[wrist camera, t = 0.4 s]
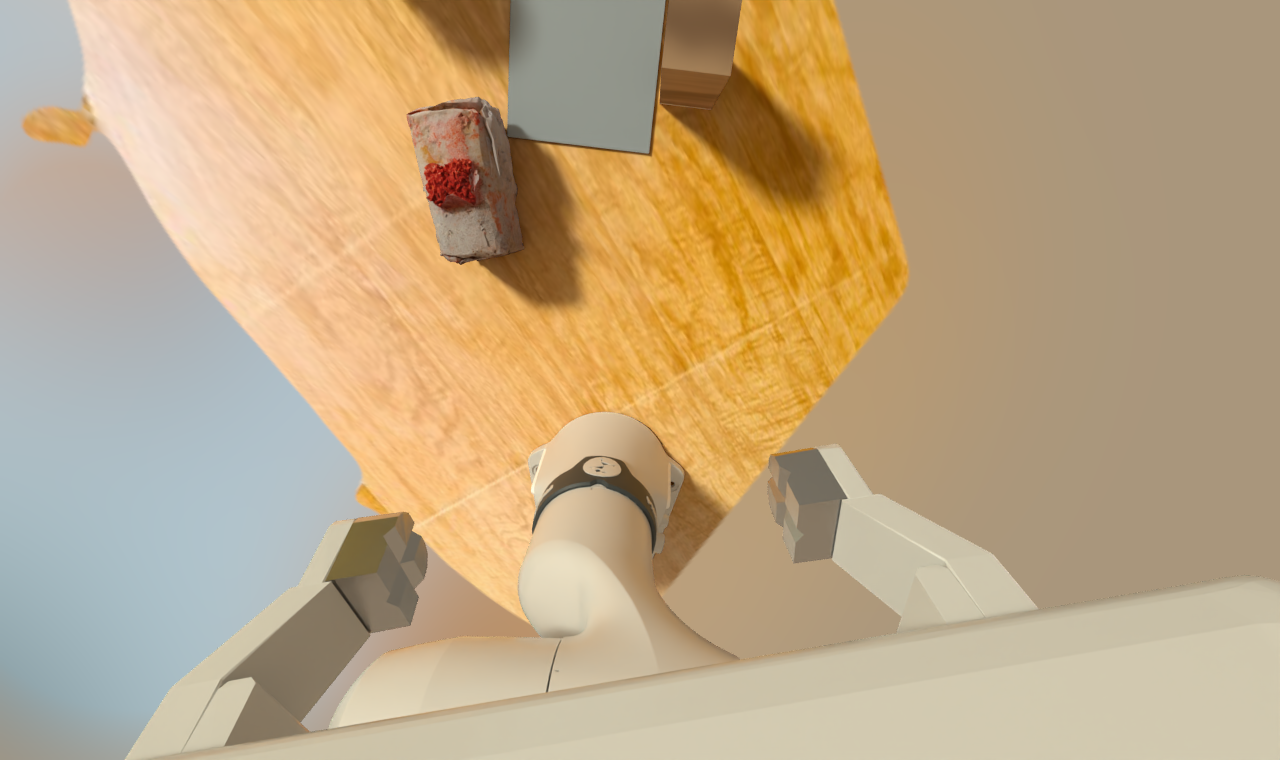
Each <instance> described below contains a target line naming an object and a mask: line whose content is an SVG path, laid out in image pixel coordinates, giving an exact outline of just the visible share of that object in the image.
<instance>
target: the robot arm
mask: <svg viewBox="0 0 1280 760" xmlns="http://www.w3.org/2000/svg"><path fill="white" fill-rule="evenodd" d="M528 465H529V470H530V476H531V482H532V488H531V493H532V494H534V499H535V505H536V511H535V514H534V521H533V527H532V538H531V541H530V543H529V546H528V549H527V551H526V554H525V557H524V559H523V562H522V565H521V567H520V571H519V576H518V595H519V601H520V604H521V607H522V609H523V611H524V613H525V615H526V617H527V619H528V620H529V622H530V623H531V625H532V626H533V628H534V629H535V630H536V632H537V633H538V634H539V636H540V637H541V638H527V637H483V636H482V637H481V636H461V637H455V638H449V639H444V640H438V641H433V642H427V643H423V644H418V645H413V646H409V647H404V648H400V649H395V650H391V651H388V652H386V653H384V654H383V655H381V656H380V657H379V658H377V659H376V660H375V661H374V662H373V663H372V664H371V665H370V666H369V667H368V668H367V669H365V671H364V672H363V673H362V674H361V675H360V676H359V677H358V679H357V680H356V681H355V682H354V683H353V685H352V686H351V688H350V689H349V690H348V692H347V693H346V695H345V696H344V698H343V699H342V701H341V702H340V704H339V706H338V708H337V710H336V712H335V714H334V716H333V718H332V720H331V723H330V725H329V728H328V729H326V730H319V731H314V732H310V731H309V730H308V729H306V728H305V727H304V726H303V725H302V724H301V723H300V722H301V721H302V720H303V719H304V717H305V716H306V715H307V714H308V712H309V711H310V710H311V709H312V707H313V706H314V705H315V704H316V703H317V701H318V700H319V699H320V698H321V696H322V695H323V694H324V693H325V691H326V690H327V689H328V688H329V686H330V685H331V684H332V683H333V681H334V680H335V679H336V678H337V676H338V675H339V674H340V673H341V671H342V670H343V669H344V668H345V667H346V665H347V664H348V663H349V662H350V660H351V659H352V658H353V657H354V655H355V654H356V653H357V652H358V650H359V649H360V648H361V647H362V645H363V644H364V643H365V642H366V640H367V639H368V638H369V637H370V634H369V633H375V632H380V631H385V630H390V629H395V628H401V627H406V626H410V625H411V622H412V619H413V615H414V611H415V608H416V605H417V602H418V598H419V597H418V595H417V593H416V591H415V588H416V587H417V585H418V584H420V583H421V581H422V580H423V579H424V577H425V573H426V570H427V558H428V554H427V549H426V545H425V542H424V540H423V538H422V536H420V535H418V534H416V533H414V532H413V531H412V529H413V526H414V521H413V520H412V518H411V516H410V515H409V513H406V512H399V513H391V514H384V515H376V516H369V517H361V518H357V519H350V520H342V521H336V522H334V523H333V524H332V525H331V526H329V528H328V530H327V532H326V534H325V535H324V537H323V539H322V541H321V543H320V545H319V547H318V549H317V550H316V552H315V554H314V556H313V558H312V560H311V562H310V564H309V566H308V568H307V570H306V571H305V573H304V575H303V577H302V579H301V581H300V583H299V585H298V586H297V587H292V588H289V589H288V590H287V591H286V592H285V593H283V594H282V595H281V596H280V597H279V598H277V599H276V600H275V601H274V602H273V603H272V604H270V605H269V606H268V607H267V608H266V609H264V610H263V611H262V612H261V613H260V614H259V615H257V616H256V617H255V618H254V619H253V620H251V621H250V622H249V623H248V624H246V625H245V626H244V627H243V628H242V629H241V630H239V631H238V632H237V633H236V634H235V635H233V636H232V637H231V638H230V639H229V640H227V641H226V642H225V643H224V644H223V645H221V646H220V647H219V648H218V649H217V650H216V651H214V652H213V653H212V654H211V655H210V656H208V657H207V658H206V659H205V660H204V661H202V662H201V663H200V664H199V665H198V666H197V667H195V668H194V669H193V670H192V671H191V672H189V673H188V674H187V675H186V676H185V677H183V678H182V679H181V680H180V681H179V682H177V683H176V684H175V685H174V686H173V687H172V688H171V689H170V690H169V691H168V693H167V695H166V696H165V698H164V699H163V701H162V702H161V704H160V705H159V707H158V709H157V710H156V712H155V713H154V715H153V717H152V718H151V719H150V721H149V723H148V724H147V726H146V727H145V729H144V730H143V732H142V733H141V735H140V737H139V738H138V740H137V741H136V743H135V744H134V746H133V747H132V749H131V751H130V752H129V754H128V755H127V757H126V758H125V760H1280V582H1279V581H1276V580H1273V579H1270V578H1265V577H1260V576H1251V575H1242V576H1232V577H1224V578H1219V579H1213V580H1208V581H1202V582H1197V583H1191V584H1186V585H1180V586H1175V587H1169V588H1163V589H1156V590H1151V591H1145V592H1138V593H1133V594H1127V595H1121V596H1115V597H1109V598H1103V599H1097V600H1092V601H1085V602H1079V603H1073V604H1067V605H1061V606H1055V607H1049V608H1043V609H1038V608H1037V606H1036V605H1035V604H1034V603H1033V602H1032V601H1031V599H1030V598H1029V597H1028V596H1027V594H1026V593H1025V592H1024V591H1023V590H1022V589H1021V587H1020V586H1019V585H1018V584H1017V583H1016V581H1015V580H1014V579H1013V578H1012V577H1011V576H1010V574H1009V573H1008V572H1007V570H1006V569H1005V568H1004V567H1003V566H1002V565H1001V563H1000V562H999V561H998V560H997V559H996V557H995V556H994V555H993V554H992V553H990V552H988V551H986V550H984V549H982V548H980V547H979V546H977V545H975V544H973V543H971V542H969V541H967V540H966V539H963V538H962V537H960V536H958V535H956V534H954V533H952V532H951V531H949V530H947V529H945V528H943V527H941V526H939V525H938V524H936V523H934V522H932V521H930V520H928V519H926V518H924V517H923V516H921V515H919V514H917V513H915V512H913V511H911V510H910V509H908V508H906V507H904V506H902V505H900V504H898V503H896V502H894V501H893V500H891V499H889V498H887V497H885V496H883V495H881V494H877V495H873V493H872V492H871V490H870V489H869V487H868V486H867V485H866V483H865V482H864V480H863V479H862V477H861V476H860V474H859V473H858V472H857V470H856V469H855V467H854V466H853V464H852V463H851V461H850V460H849V458H848V457H847V456H846V454H845V453H844V451H843V450H842V448H841V447H840V446H839V445H837V444H830V445H824V446H818V447H814V448H807V449H801V450H795V451H789V452H783V453H777V454H771V455H770V458H769V466H768V468H769V470H770V472H771V474H772V477H771V479H770V480H769V481H768V498H769V505H770V508H771V511H772V514H773V517H774V519H775V521H776V523H777V524H779V525H780V526H782V527H783V540H784V542H785V545H786V547H787V549H788V551H789V554H790V556H791V558H792V561H793V563H799V562H807V561H814V560H821V559H829V558H832V560H833V561H834V562H835V563H836V564H837V565H839V566H840V567H841V568H843V569H844V570H845V571H846V572H847V573H849V574H850V575H851V576H852V577H853V578H855V579H856V580H857V581H858V582H860V583H861V584H862V585H863V586H864V587H866V588H867V589H868V590H870V591H871V592H872V593H873V594H874V595H876V596H877V597H878V598H879V599H880V600H882V601H883V602H884V603H885V604H887V605H888V606H889V607H890V608H891V609H893V610H894V611H895V612H896V613H898V614H899V615H900V616H901V620H900V623H899V626H898V630H897V633H896V634H890V635H884V636H878V637H872V638H866V639H860V640H854V641H848V642H842V643H837V644H830V645H824V646H819V647H812V648H807V649H801V650H795V651H789V652H783V653H777V654H771V655H765V656H759V657H753V658H748V659H742V660H740V659H739V658H738V657H737V656H735V655H733V654H731V653H729V652H727V651H725V650H723V649H721V648H720V647H718V646H716V645H714V644H712V643H711V642H709V641H708V640H706V639H704V638H703V637H701V636H700V635H698V634H697V633H696V632H695V631H693V630H692V629H691V628H690V627H688V626H687V625H686V624H685V623H684V622H683V621H682V620H681V619H679V617H677V616H676V614H675V613H674V612H673V611H672V610H671V609H670V608H669V607H668V605H667V604H666V603H665V601H664V600H663V599H662V597H661V596H660V594H659V592H658V590H657V588H656V585H655V580H654V573H653V564H652V560H653V557H654V554H655V553H658V554H659V553H661V552H662V550H663V547H664V543H665V535H664V534H663V532H664V529H665V528H666V527H667V525H668V522H669V516H670V514H671V511H672V509H673V506H674V504H675V501H676V498H677V496H678V493H679V491H680V488H681V486H682V483H683V481H684V470H683V468H682V467H681V466H680V465H679V464H678V463H677V462H676V461H674V460H673V459H672V458H670V457H669V456H668V455H667V454H666V452H665V451H664V449H663V447H662V445H661V444H660V442H659V440H658V439H657V437H656V436H655V435H654V434H653V432H652V431H651V430H650V429H649V428H647V427H646V426H645V425H644V424H642V423H641V422H639V421H637V420H636V419H634V418H631V417H629V416H626V415H623V414H619V413H613V412H596V413H591V414H587V415H584V416H581V417H578V418H576V419H574V420H573V421H571V422H569V423H568V424H567V425H566V426H564V427H563V428H562V429H561V430H560V431H559V432H558V434H557V435H556V436H555V437H554V438H553V439H552V440H551V441H550V442H549V443H547V444H544V445H542V446H540V447H538V448H536V449H535V450H533V451H532V452H531V453H530V455H529V459H528ZM537 467H538V468H537ZM671 482H674V484H673V485H671Z"/></svg>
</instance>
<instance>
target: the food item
mask: <svg viewBox="0 0 1280 760" xmlns="http://www.w3.org/2000/svg"><path fill="white" fill-rule="evenodd" d="M407 121H408V124H409V127H410V129H411V134H412V139H413V144H414V148H415V153H416V158H417V162H418V166H419V170H420V174H421V178H422V182H423V186H424V187H423V191H425V192H426V195H427V200H428V202H429V207H430V212H431V216H432V218H433V222H434V224H435V228H436V237H437V241H438V243H439V245H440V250H441V254H440V256H444V257H445V258H446V259H447V260H448V261H450V262H456V263H459V264H460V265H462V264H464V263H466V262H470V261H474V260H477V261H481V260H483V259H489V258H493V257H499V256H504V255H507V254H510V253H514V252H517V251H521V250H523V249H524V245H523V243H522V234H521V229H520V224H519V217H518V213H517V209H516V206H515V200H516V196H517V190H518V188H517V184H516V183H515V179H514V175H513V168H512V162H511V159H512V158H511V156H510V145H509V141H508V138H507V135H506V132H505V129H504V125H503V121H502V119H501V117H500V112H499V109H496V108H494V107H492V106H490V104H489V103H488V102H487V101H485V100H482V99H480V98H479V97H475V98H468V99H457V100H450V101H447V102H443V103H441V104H439V105H436V106H429V107H422V108H418V109H416V110H414V111H412V112H410V113H408V114H407Z"/></svg>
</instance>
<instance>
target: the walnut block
mask: <svg viewBox="0 0 1280 760" xmlns="http://www.w3.org/2000/svg"><path fill="white" fill-rule="evenodd" d="M741 3H742V0H669V4H668V13H667V22H666V31H665V40H664V49H663V59H662V68H661V87H660V104H666V105H674V106H682V107H690V108H699V109H707V110H711V109H712V108H713V106H714V104H715V102H716V101H717V99H718V97H719V95H720V94H721V92H722V90H723V88H724V87H725V85H726V83H727V81H728V80H729V78H730V76H731V70H732V63H733V56H734V50H735V43H736V36H737V30H738V23H739V16H740V10H741Z"/></svg>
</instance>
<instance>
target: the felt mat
mask: <svg viewBox="0 0 1280 760" xmlns="http://www.w3.org/2000/svg"><path fill="white" fill-rule="evenodd" d="M665 1H666V0H511V5H510V47H509V88H508V129H507V137H513V138H521V139H529V140H538V141H546V142H554V143H563V144H571V145H579V146H588V147H596V148H604V149H613V150H621V151H629V152H638V153H646V154H649V149H650V139H651V130H652V121H653V112H654V102H655V93H656V84H657V75H658V65H659V56H660V47H661V38H662V28H663V19H664V10H665Z"/></svg>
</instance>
